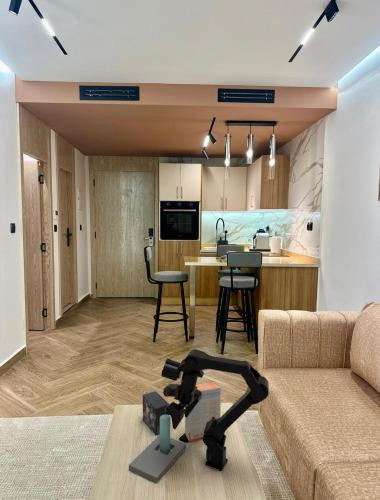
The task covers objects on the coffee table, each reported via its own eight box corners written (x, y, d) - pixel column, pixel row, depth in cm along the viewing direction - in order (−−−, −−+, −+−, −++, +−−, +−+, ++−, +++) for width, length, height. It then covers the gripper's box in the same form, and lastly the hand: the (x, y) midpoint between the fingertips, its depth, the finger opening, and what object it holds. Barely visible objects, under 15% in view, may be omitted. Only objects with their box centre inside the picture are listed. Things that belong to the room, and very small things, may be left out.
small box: (141, 420, 148) (141, 394, 147) (155, 415, 152) (155, 390, 151) (155, 436, 137) (155, 408, 136) (169, 430, 141) (170, 403, 140)
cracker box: (214, 427, 143) (216, 380, 142) (220, 435, 138) (221, 387, 136) (184, 433, 139) (184, 385, 137) (188, 442, 133) (189, 392, 131)
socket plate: (186, 448, 129) (186, 443, 129) (156, 483, 112) (156, 477, 112) (160, 438, 135) (160, 433, 135) (128, 470, 118) (128, 464, 118)
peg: (172, 451, 128) (172, 416, 127) (166, 457, 124) (166, 422, 123) (163, 447, 130) (163, 413, 129) (157, 453, 126) (157, 418, 125)
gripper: (181, 367, 134) (174, 402, 136) (156, 384, 117) (148, 425, 119) (206, 378, 129) (198, 414, 131) (183, 398, 112) (175, 439, 114)
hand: (180, 422), depth 124 cm, fingers open, 9 cm apart
